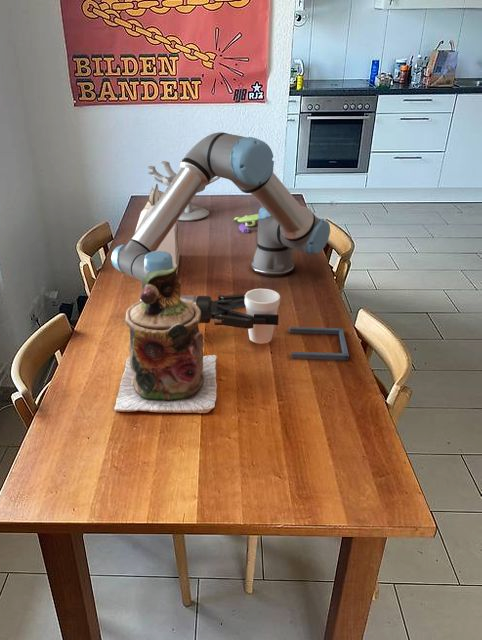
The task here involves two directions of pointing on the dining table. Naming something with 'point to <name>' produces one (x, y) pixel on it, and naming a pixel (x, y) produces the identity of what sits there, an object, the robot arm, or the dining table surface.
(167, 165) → the candelabra
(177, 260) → the gable box
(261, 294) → the foam cup
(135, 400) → the cookie jar
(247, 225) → the toy airplane
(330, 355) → the bay
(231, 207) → the dining table surface
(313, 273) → the dining table surface
